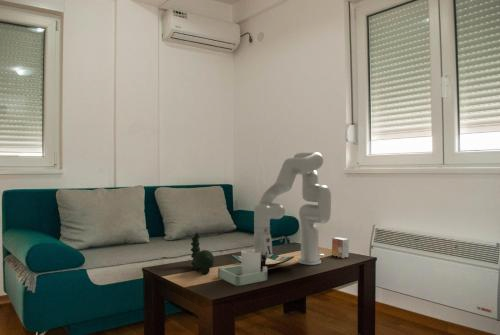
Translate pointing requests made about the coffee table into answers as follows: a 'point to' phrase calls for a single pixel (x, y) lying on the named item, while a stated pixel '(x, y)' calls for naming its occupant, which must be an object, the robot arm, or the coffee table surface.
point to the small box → (340, 247)
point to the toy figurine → (201, 256)
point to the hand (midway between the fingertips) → (261, 268)
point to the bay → (232, 277)
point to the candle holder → (250, 261)
